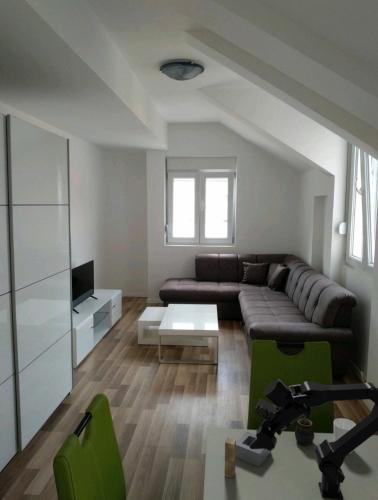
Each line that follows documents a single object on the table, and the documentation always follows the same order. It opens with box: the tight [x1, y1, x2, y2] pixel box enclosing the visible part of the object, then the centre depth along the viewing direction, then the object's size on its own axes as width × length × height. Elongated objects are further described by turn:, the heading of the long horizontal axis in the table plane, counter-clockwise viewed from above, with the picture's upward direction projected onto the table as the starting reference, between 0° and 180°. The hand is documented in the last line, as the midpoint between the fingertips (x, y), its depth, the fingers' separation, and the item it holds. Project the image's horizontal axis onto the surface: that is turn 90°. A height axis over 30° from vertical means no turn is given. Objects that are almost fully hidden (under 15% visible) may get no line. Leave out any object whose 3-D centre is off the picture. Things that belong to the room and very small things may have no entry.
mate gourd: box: [294, 415, 315, 446], centre depth 153 cm, size 7×8×10 cm
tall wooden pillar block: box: [223, 437, 237, 479], centre depth 134 cm, size 3×3×12 cm
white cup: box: [333, 417, 357, 455], centre depth 149 cm, size 8×8×10 cm
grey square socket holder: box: [236, 431, 272, 468], centre depth 145 cm, size 10×10×5 cm
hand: (253, 439), depth 131 cm, fingers open, 9 cm apart
